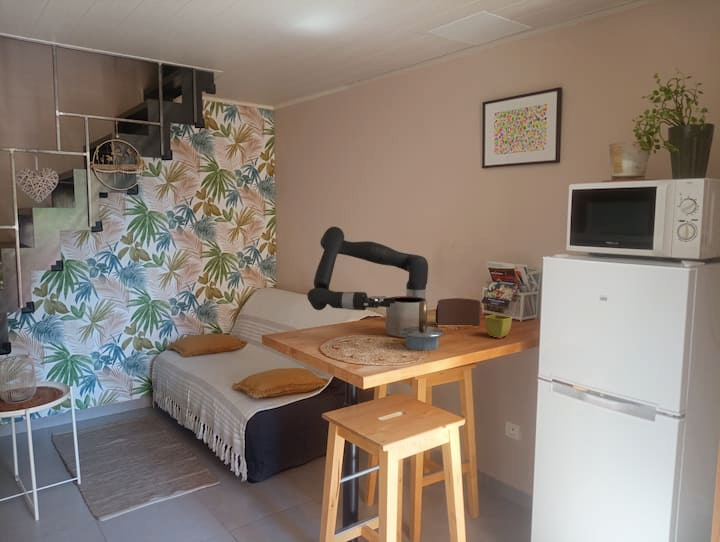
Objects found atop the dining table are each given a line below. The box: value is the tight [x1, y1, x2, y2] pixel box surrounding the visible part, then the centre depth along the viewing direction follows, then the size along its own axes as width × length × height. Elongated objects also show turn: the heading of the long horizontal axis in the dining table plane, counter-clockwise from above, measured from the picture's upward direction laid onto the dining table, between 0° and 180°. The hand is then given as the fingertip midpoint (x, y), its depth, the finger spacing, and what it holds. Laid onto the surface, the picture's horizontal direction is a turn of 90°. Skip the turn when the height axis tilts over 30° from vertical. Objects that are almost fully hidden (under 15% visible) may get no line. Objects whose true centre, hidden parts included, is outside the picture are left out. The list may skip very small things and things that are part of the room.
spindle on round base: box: [401, 300, 445, 338], centre depth 217 cm, size 17×17×13 cm
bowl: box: [405, 336, 440, 352], centre depth 218 cm, size 12×12×6 cm
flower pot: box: [484, 313, 513, 337], centre depth 236 cm, size 9×9×9 cm
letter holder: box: [435, 297, 482, 327], centre depth 258 cm, size 10×20×14 cm, turn 87°
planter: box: [385, 295, 427, 339], centre depth 240 cm, size 18×18×16 cm
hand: (392, 302), depth 222 cm, fingers open, 8 cm apart
